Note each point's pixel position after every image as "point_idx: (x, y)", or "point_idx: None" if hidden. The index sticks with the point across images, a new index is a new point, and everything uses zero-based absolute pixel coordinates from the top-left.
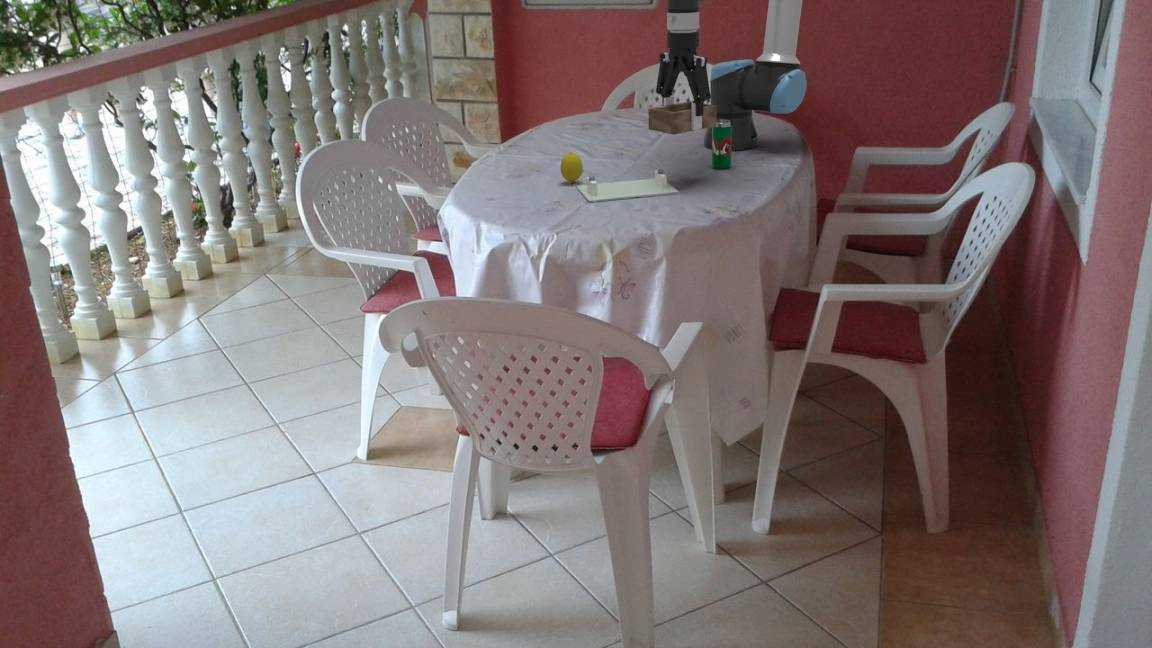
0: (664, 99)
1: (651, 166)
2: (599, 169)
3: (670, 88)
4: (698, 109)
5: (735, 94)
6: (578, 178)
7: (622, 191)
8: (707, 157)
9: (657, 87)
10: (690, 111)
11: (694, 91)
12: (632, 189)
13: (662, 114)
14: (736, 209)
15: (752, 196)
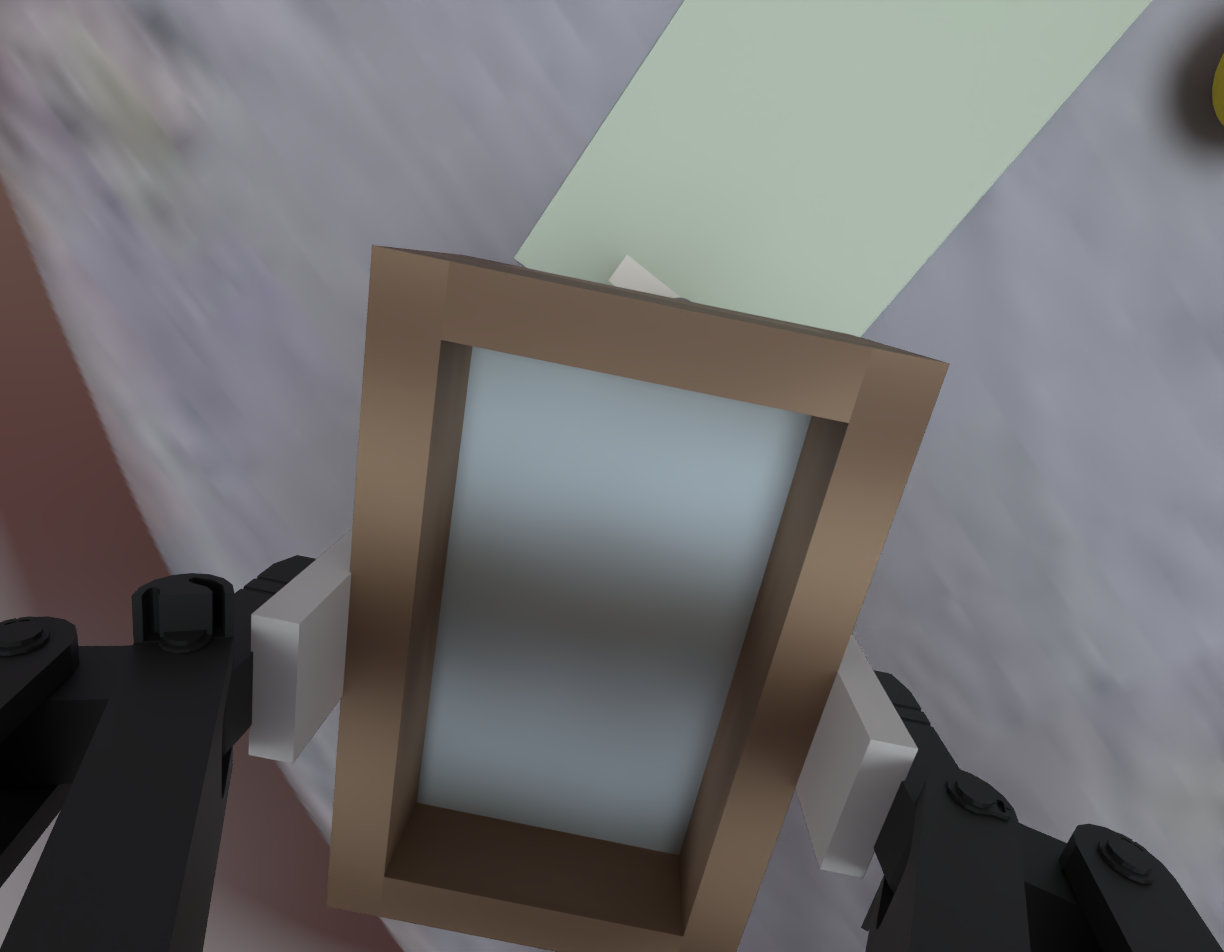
0: (892, 731)
1: (954, 633)
2: (1212, 452)
3: (883, 948)
4: (251, 592)
5: None
6: (1212, 90)
7: (799, 68)
8: (786, 868)
9: (1180, 929)
10: (356, 546)
11: (105, 744)
12: (770, 145)
13: (633, 296)
14: (93, 168)
15: (197, 415)
